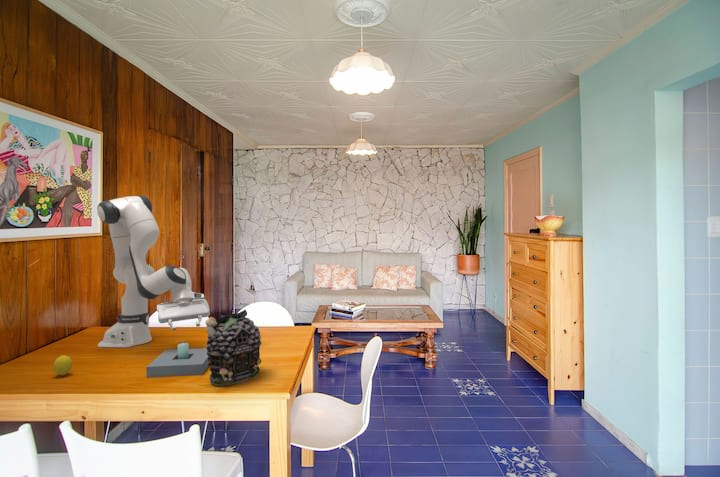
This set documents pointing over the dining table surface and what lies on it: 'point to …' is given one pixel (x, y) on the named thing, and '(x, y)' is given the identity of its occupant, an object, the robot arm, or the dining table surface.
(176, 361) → the cutout board
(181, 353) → the peg
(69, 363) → the lemon
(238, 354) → the decorative house
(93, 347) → the dining table surface
